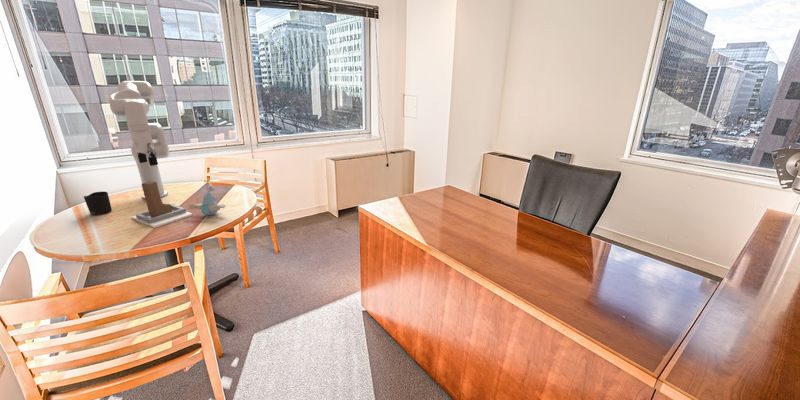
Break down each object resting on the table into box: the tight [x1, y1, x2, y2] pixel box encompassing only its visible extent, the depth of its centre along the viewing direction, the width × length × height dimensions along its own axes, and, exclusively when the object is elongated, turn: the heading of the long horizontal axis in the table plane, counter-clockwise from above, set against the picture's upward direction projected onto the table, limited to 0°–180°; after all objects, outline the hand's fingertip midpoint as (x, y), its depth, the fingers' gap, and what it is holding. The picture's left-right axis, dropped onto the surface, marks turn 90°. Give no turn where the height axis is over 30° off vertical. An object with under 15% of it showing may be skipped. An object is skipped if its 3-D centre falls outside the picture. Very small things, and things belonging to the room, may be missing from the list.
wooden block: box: [141, 181, 172, 218], centre depth 167 cm, size 9×4×18 cm, turn 168°
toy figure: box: [188, 184, 226, 216], centre depth 172 cm, size 17×10×15 cm, turn 84°
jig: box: [130, 203, 193, 229], centre depth 170 cm, size 22×18×3 cm
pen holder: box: [83, 191, 113, 216], centre depth 174 cm, size 9×9×10 cm
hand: (148, 163), depth 161 cm, fingers open, 9 cm apart
